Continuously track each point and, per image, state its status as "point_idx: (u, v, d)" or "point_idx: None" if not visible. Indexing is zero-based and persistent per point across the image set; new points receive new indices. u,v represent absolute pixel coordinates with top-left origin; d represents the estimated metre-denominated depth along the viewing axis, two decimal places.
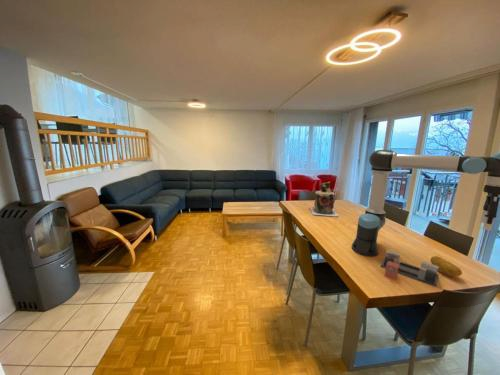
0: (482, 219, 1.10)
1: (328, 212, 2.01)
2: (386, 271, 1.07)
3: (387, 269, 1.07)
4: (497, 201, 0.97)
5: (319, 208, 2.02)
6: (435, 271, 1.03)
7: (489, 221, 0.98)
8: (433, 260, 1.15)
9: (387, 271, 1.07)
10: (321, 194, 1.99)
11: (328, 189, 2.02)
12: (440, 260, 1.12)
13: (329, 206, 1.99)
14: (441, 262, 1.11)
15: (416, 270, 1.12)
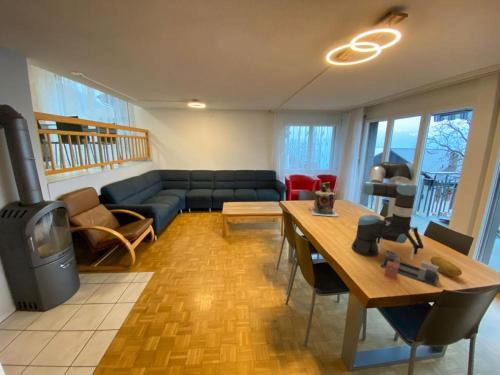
0: None
1: (328, 212, 2.01)
2: (386, 271, 1.07)
3: (387, 269, 1.07)
4: (383, 224, 1.07)
5: (319, 208, 2.02)
6: (435, 271, 1.03)
7: None
8: (433, 260, 1.15)
9: (387, 271, 1.07)
10: (321, 194, 1.99)
11: (328, 189, 2.02)
12: (440, 260, 1.12)
13: (329, 206, 1.99)
14: (441, 262, 1.11)
15: (416, 270, 1.12)
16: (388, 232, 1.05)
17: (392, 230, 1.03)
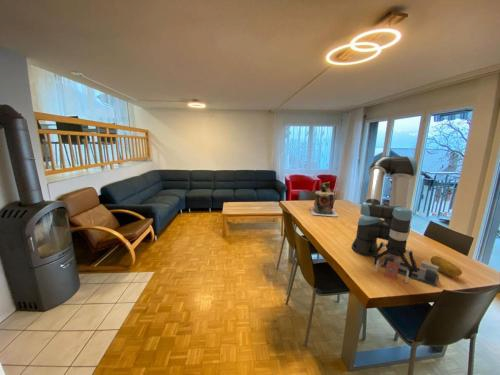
0: None
1: (328, 212, 2.01)
2: (386, 271, 1.07)
3: (387, 269, 1.07)
4: (379, 246, 1.09)
5: (319, 208, 2.02)
6: (435, 271, 1.03)
7: None
8: (433, 260, 1.15)
9: (387, 271, 1.07)
10: (321, 194, 1.99)
11: (328, 189, 2.02)
12: (440, 260, 1.12)
13: (329, 206, 1.99)
14: (441, 262, 1.11)
15: None
16: (384, 254, 1.08)
17: (388, 252, 1.06)
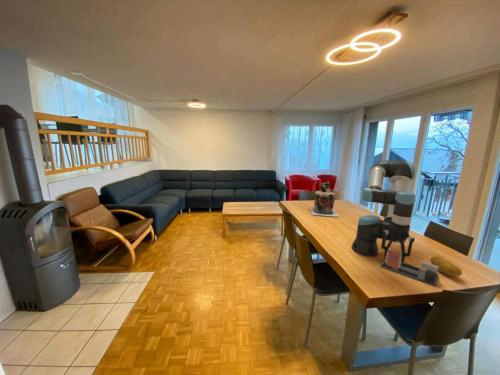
0: None
1: (328, 212, 2.01)
2: (388, 260, 1.06)
3: (389, 258, 1.06)
4: None
5: (319, 208, 2.02)
6: (435, 271, 1.03)
7: None
8: (433, 260, 1.15)
9: (389, 260, 1.06)
10: (321, 194, 1.99)
11: (328, 189, 2.02)
12: (440, 260, 1.12)
13: (329, 206, 1.99)
14: (441, 262, 1.11)
15: (416, 270, 1.12)
16: (391, 242, 1.05)
17: (393, 239, 1.04)
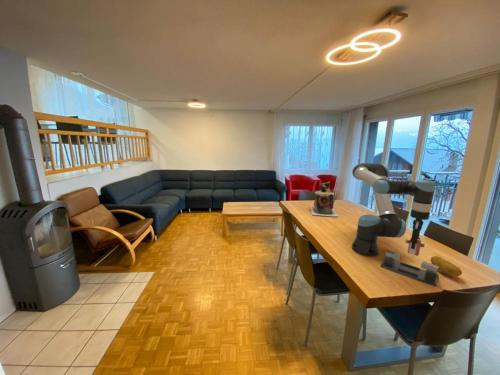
0: None
1: (328, 212, 2.01)
2: (419, 250, 1.06)
3: (419, 248, 1.06)
4: (418, 229, 1.02)
5: (319, 208, 2.01)
6: (435, 271, 1.03)
7: (412, 246, 1.06)
8: (433, 260, 1.15)
9: (419, 249, 1.07)
10: (321, 194, 1.99)
11: (328, 189, 2.02)
12: (440, 260, 1.12)
13: (329, 206, 1.99)
14: (441, 262, 1.11)
15: (416, 270, 1.12)
16: None
17: (421, 228, 1.05)
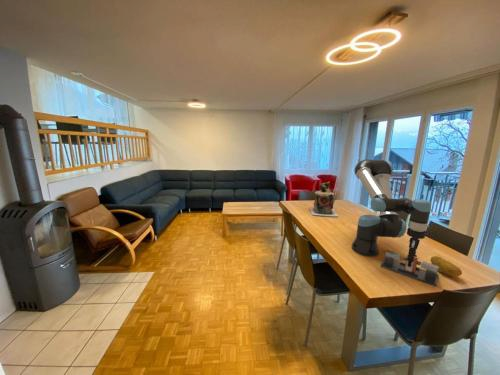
0: None
1: (328, 212, 2.00)
2: (415, 268, 1.09)
3: None
4: (414, 248, 1.04)
5: (319, 208, 2.01)
6: (435, 271, 1.03)
7: (409, 264, 1.08)
8: (433, 260, 1.15)
9: (415, 267, 1.09)
10: (321, 194, 1.99)
11: (328, 189, 2.02)
12: (440, 260, 1.12)
13: (329, 206, 1.99)
14: (441, 262, 1.11)
15: (416, 270, 1.12)
16: (415, 250, 1.08)
17: (417, 246, 1.07)
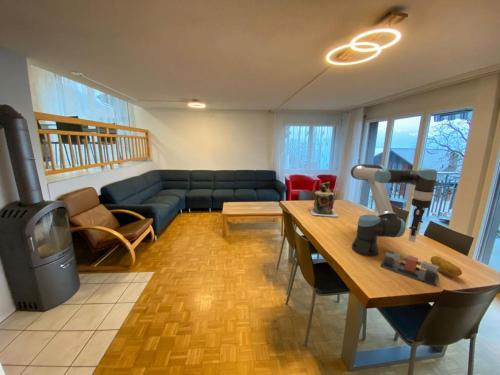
0: None
1: (328, 212, 2.00)
2: (415, 268, 1.09)
3: None
4: (419, 214, 1.02)
5: (319, 208, 2.01)
6: (435, 271, 1.03)
7: (412, 233, 1.04)
8: (433, 260, 1.15)
9: (415, 267, 1.09)
10: (321, 194, 1.98)
11: (328, 189, 2.01)
12: (440, 260, 1.12)
13: (329, 206, 1.99)
14: (441, 262, 1.11)
15: (416, 270, 1.12)
16: (419, 220, 1.04)
17: None
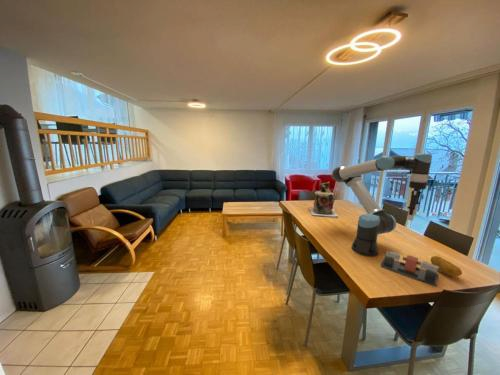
0: None
1: (327, 212, 2.00)
2: (415, 268, 1.09)
3: None
4: (416, 195, 1.11)
5: (318, 208, 2.01)
6: (435, 271, 1.03)
7: (410, 212, 1.13)
8: (433, 260, 1.15)
9: (415, 267, 1.09)
10: (320, 194, 1.98)
11: (327, 189, 2.01)
12: (440, 260, 1.12)
13: (328, 206, 1.98)
14: (441, 262, 1.11)
15: (416, 270, 1.12)
16: (416, 200, 1.14)
17: None
